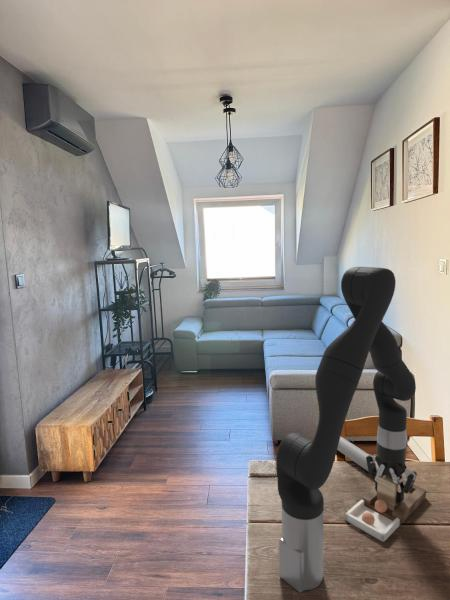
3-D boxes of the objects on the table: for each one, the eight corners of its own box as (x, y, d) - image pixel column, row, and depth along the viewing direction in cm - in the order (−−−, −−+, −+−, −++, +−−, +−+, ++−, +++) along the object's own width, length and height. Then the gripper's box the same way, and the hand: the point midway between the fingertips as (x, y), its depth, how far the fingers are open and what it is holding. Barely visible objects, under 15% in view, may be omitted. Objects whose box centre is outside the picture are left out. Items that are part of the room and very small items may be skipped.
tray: (383, 542, 101) (383, 535, 100) (345, 520, 109) (345, 513, 109) (399, 525, 106) (399, 518, 106) (361, 505, 114) (361, 499, 114)
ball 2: (388, 500, 110) (389, 509, 111) (377, 494, 112) (378, 503, 113) (383, 508, 108) (384, 517, 109) (372, 502, 110) (373, 511, 111)
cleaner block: (393, 511, 110) (394, 484, 109) (376, 502, 114) (377, 476, 113) (401, 503, 113) (402, 477, 112) (384, 495, 117) (385, 470, 116)
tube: (393, 466, 126) (339, 431, 148) (382, 465, 124) (328, 430, 146) (389, 482, 126) (335, 445, 149) (377, 482, 124) (324, 444, 146)
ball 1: (369, 528, 104) (373, 515, 104) (358, 521, 106) (361, 509, 107) (374, 528, 106) (377, 516, 106) (363, 522, 108) (366, 510, 109)
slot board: (399, 525, 106) (400, 516, 106) (362, 505, 115) (362, 497, 114) (425, 498, 117) (426, 490, 116) (389, 481, 125) (389, 474, 125)
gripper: (360, 436, 113) (358, 491, 116) (411, 456, 103) (408, 516, 105) (374, 428, 118) (372, 480, 121) (424, 446, 108) (420, 503, 110)
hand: (389, 497), depth 113 cm, fingers closed on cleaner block, 5 cm apart
